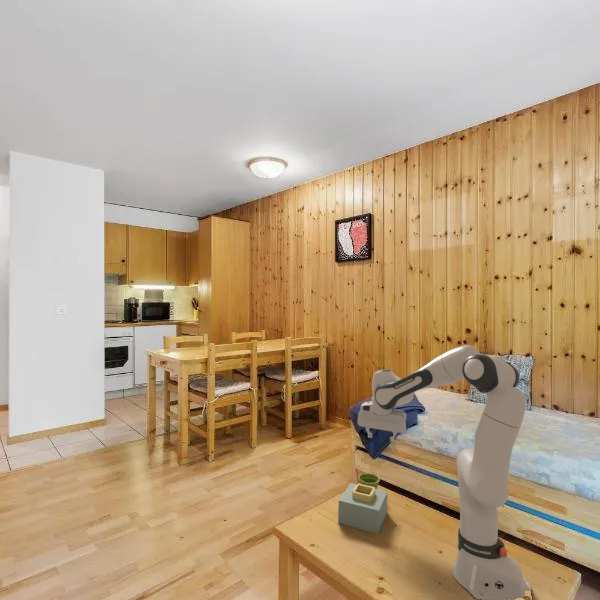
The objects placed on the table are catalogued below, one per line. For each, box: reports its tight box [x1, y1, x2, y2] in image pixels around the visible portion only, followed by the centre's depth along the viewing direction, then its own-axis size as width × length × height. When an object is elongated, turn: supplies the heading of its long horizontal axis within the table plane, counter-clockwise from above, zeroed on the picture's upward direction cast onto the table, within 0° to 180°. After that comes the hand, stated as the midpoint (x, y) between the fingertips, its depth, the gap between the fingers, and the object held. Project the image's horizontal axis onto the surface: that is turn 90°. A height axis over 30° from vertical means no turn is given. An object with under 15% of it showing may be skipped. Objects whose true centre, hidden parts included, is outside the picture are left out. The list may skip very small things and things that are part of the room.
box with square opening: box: [337, 482, 389, 535], centre depth 158 cm, size 16×16×12 cm
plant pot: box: [358, 472, 381, 489], centre depth 174 cm, size 9×9×9 cm
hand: (380, 439), depth 166 cm, fingers open, 8 cm apart
